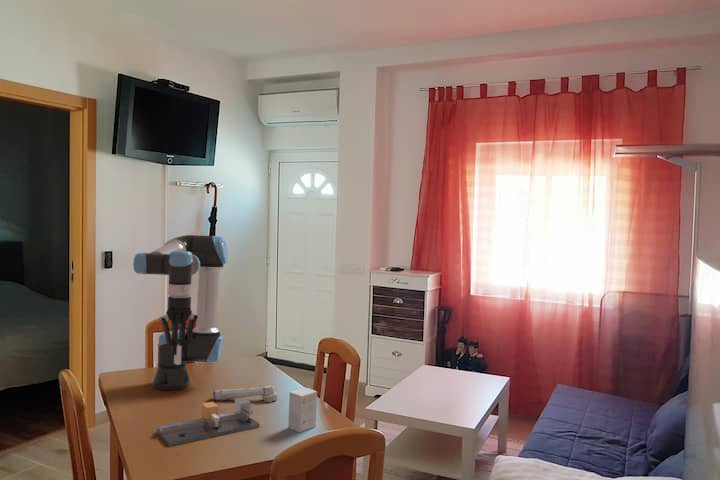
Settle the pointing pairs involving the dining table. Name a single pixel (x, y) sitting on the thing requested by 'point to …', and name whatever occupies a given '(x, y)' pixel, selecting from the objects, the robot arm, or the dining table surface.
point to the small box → (302, 409)
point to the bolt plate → (209, 425)
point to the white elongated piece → (247, 393)
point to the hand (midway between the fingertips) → (177, 363)
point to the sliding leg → (210, 412)
